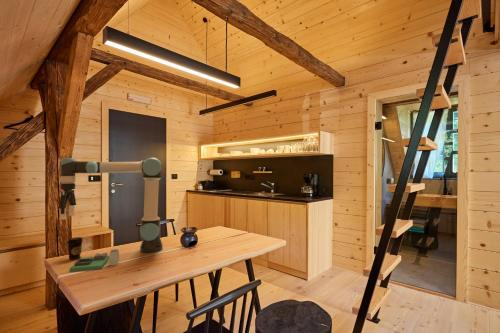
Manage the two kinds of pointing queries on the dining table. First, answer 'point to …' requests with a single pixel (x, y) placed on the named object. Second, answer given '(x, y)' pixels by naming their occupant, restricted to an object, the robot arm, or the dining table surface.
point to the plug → (114, 257)
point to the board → (90, 263)
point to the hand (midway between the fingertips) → (67, 217)
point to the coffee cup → (74, 248)
